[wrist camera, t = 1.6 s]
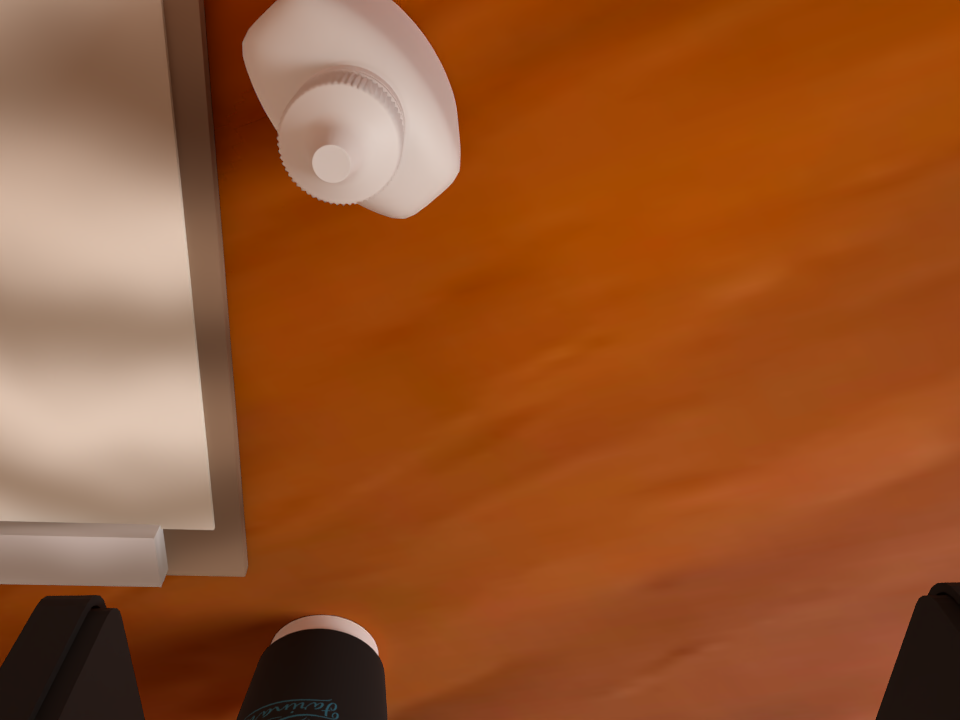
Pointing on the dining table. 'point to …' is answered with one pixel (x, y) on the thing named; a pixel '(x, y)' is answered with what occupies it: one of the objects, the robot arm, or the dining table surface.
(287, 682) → the dixie cup
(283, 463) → the dining table surface
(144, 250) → the clipboard
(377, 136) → the eye dropper bottle
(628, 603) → the dining table surface
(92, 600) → the robot arm
